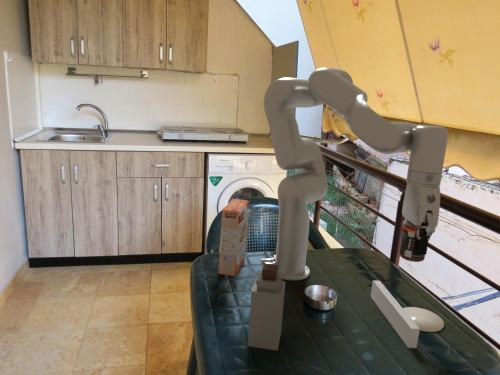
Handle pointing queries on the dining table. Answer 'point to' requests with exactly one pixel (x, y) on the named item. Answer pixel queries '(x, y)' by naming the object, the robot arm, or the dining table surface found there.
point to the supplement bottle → (409, 243)
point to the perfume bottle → (266, 309)
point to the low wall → (395, 314)
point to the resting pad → (425, 319)
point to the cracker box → (233, 236)
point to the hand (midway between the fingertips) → (413, 248)
